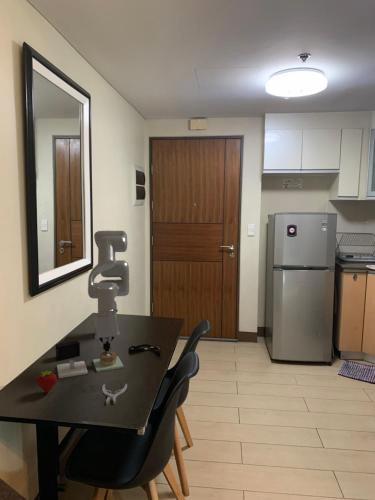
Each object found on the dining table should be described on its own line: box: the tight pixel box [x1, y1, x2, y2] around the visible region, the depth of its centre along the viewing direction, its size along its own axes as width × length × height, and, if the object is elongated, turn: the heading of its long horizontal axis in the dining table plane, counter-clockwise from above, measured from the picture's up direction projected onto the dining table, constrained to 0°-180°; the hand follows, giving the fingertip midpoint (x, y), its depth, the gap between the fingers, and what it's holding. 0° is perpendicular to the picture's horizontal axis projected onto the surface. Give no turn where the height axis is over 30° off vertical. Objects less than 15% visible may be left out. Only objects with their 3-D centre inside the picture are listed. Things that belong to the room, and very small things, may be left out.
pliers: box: [101, 383, 128, 405], centre depth 145 cm, size 10×2×15 cm
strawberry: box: [36, 370, 58, 393], centre depth 145 cm, size 6×8×10 cm
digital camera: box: [55, 339, 81, 362], centre depth 180 cm, size 10×5×7 cm, turn 127°
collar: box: [99, 350, 117, 366], centre depth 172 cm, size 7×7×4 cm
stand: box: [56, 359, 89, 379], centre depth 166 cm, size 12×12×4 cm
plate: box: [92, 354, 125, 373], centre depth 172 cm, size 12×12×5 cm
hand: (106, 350), depth 174 cm, fingers closed
